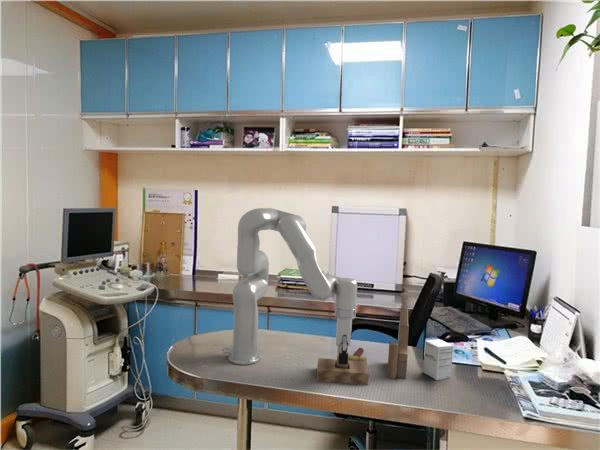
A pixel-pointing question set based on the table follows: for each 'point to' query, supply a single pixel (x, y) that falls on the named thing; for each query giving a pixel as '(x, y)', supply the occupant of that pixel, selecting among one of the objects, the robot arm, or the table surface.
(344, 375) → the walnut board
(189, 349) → the table surface
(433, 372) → the supplement box
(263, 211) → the robot arm
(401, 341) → the wooden toy
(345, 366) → the wooden pepper mill
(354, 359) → the gavel
